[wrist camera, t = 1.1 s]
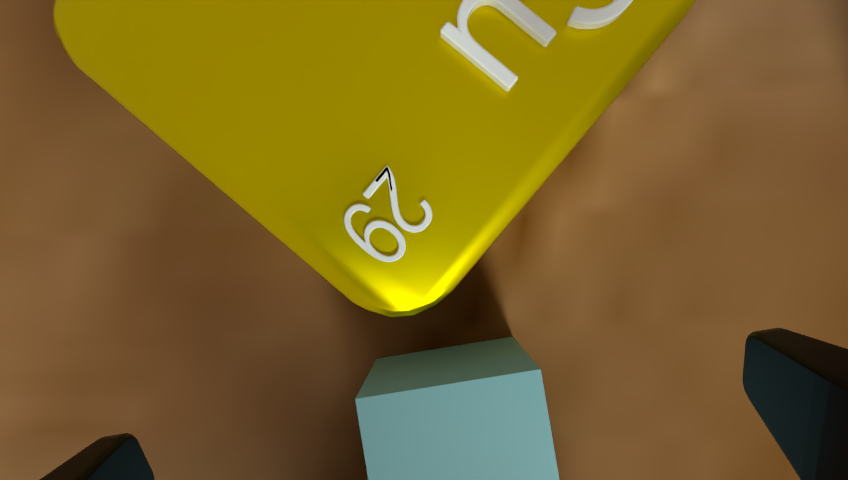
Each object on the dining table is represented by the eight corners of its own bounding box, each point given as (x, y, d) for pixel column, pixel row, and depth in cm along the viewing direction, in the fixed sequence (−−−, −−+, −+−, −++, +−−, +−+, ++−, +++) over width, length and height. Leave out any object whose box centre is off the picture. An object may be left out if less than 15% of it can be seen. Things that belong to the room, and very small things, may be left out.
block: (535, 473, 18) (572, 557, 13) (399, 494, 19) (385, 585, 14) (512, 336, 19) (540, 369, 14) (376, 358, 19) (355, 399, 14)
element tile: (365, -235, 19) (341, -394, 14) (673, 16, 19) (754, -62, 14) (110, 69, 19) (2, 10, 15) (411, 326, 19) (403, 353, 14)
